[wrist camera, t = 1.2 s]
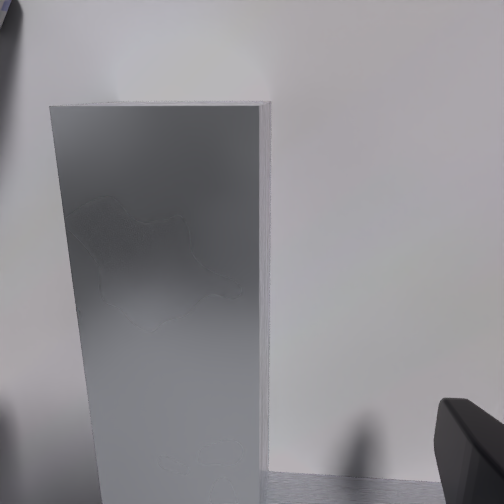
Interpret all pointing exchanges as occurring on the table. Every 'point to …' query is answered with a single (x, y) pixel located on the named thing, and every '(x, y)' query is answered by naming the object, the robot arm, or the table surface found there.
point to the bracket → (182, 304)
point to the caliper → (3, 9)
